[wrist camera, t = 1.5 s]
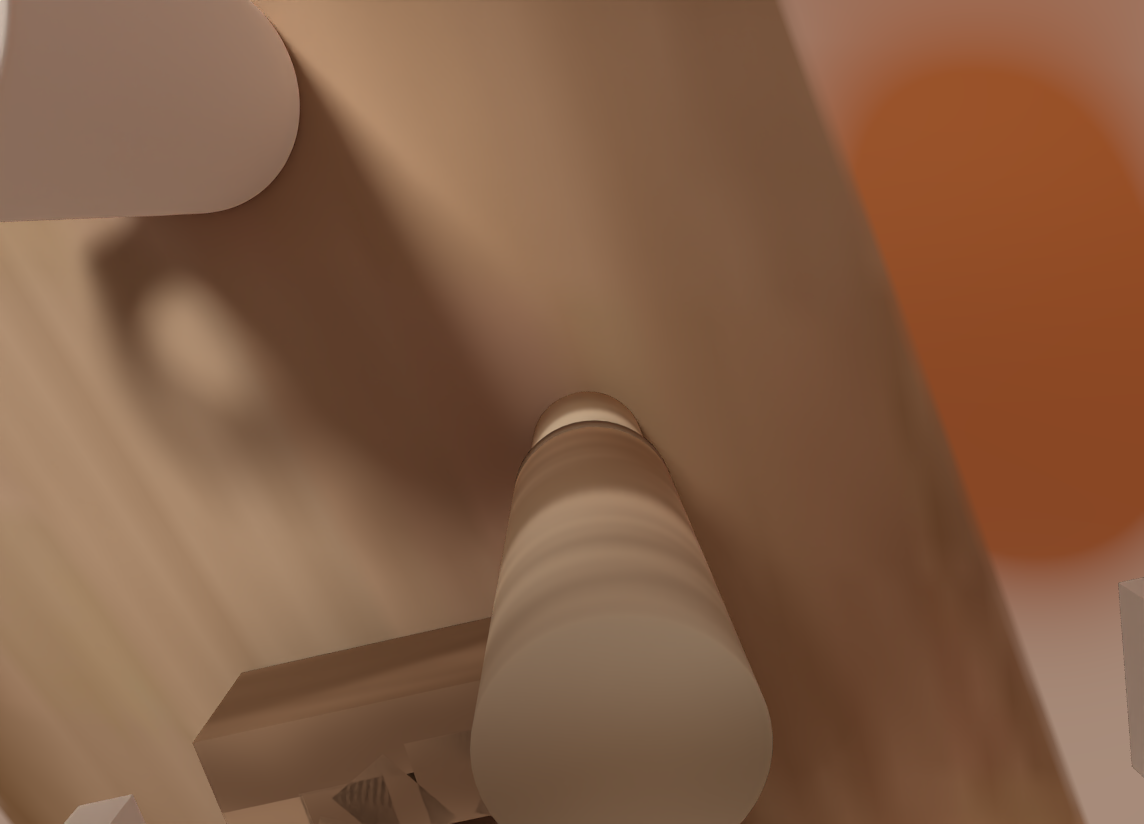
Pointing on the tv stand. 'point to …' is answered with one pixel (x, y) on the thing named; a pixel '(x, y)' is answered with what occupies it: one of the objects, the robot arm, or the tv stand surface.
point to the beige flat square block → (352, 735)
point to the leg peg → (611, 645)
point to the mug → (140, 107)
